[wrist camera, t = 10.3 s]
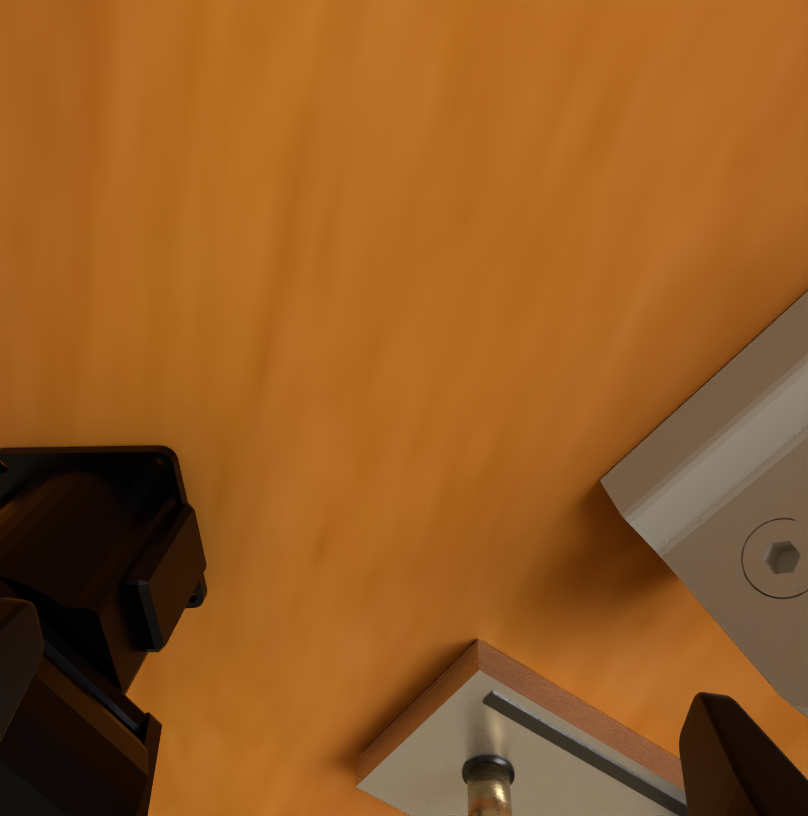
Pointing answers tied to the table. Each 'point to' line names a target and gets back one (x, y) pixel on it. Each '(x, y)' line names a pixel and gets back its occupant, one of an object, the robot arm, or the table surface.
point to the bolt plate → (515, 751)
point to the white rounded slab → (737, 500)
